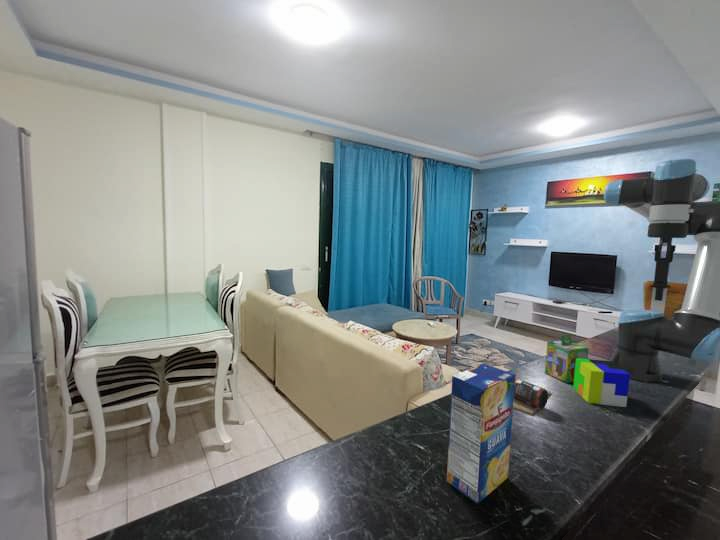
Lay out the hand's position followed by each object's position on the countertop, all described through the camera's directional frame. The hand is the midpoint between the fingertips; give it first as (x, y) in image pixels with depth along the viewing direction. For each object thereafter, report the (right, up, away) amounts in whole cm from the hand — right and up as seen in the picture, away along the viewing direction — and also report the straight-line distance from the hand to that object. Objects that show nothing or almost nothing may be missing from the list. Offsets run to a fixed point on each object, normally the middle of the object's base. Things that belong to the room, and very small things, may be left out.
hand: (657, 311), depth 87 cm
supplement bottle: (-28, -25, +4) cm, 37 cm away
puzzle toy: (-6, -28, +14) cm, 32 cm away
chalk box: (-7, -27, +28) cm, 39 cm away
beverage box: (-55, -31, -21) cm, 67 cm away
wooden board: (-30, -28, +13) cm, 43 cm away
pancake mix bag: (+69, -23, +73) cm, 103 cm away
